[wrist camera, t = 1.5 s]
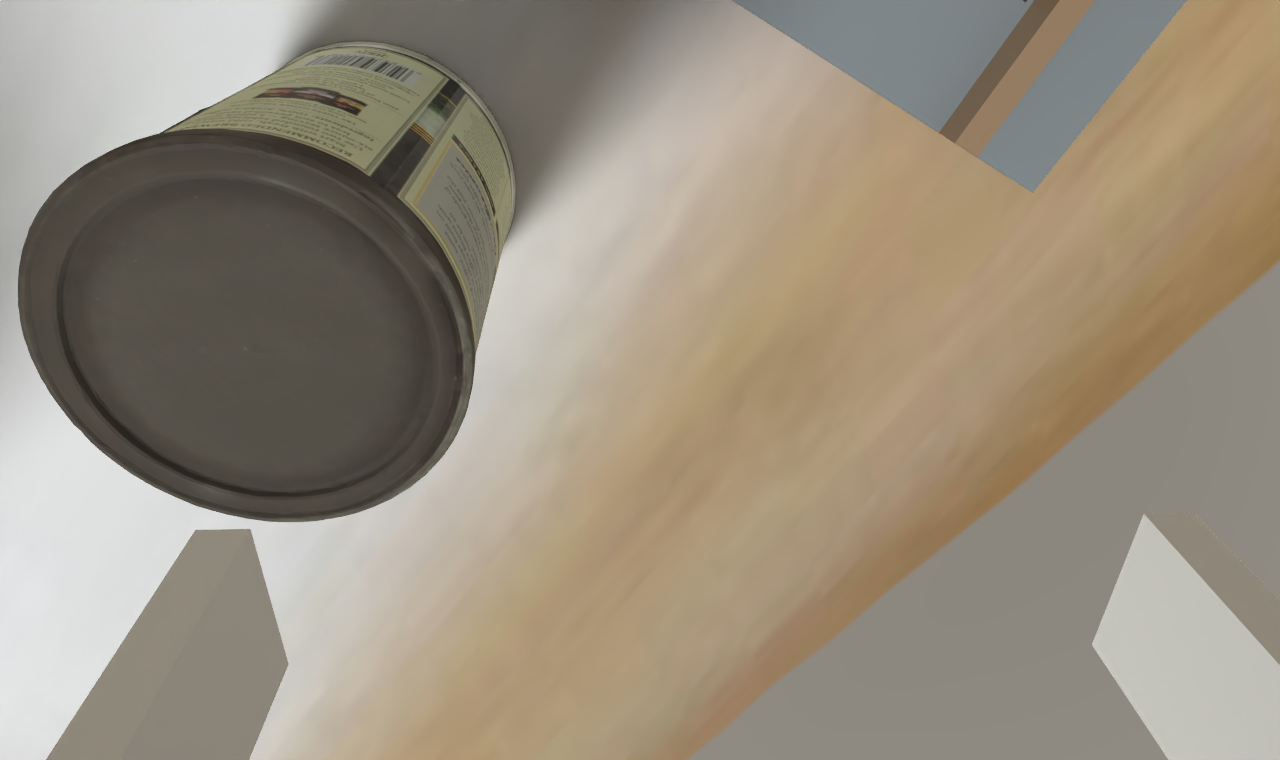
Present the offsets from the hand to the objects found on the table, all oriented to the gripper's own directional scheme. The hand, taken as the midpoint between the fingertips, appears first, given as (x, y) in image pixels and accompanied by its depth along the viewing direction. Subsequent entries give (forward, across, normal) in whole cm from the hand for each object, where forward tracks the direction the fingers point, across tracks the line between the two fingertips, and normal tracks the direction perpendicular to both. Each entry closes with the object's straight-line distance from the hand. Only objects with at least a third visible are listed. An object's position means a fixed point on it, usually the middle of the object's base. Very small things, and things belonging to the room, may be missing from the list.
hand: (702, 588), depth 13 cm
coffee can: (+23, -10, 0) cm, 25 cm away
